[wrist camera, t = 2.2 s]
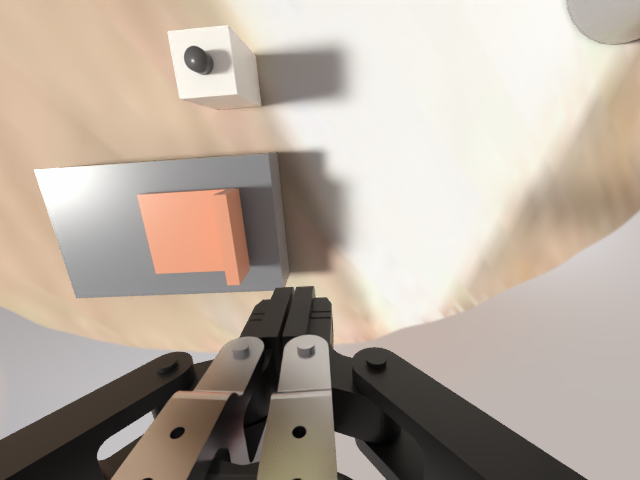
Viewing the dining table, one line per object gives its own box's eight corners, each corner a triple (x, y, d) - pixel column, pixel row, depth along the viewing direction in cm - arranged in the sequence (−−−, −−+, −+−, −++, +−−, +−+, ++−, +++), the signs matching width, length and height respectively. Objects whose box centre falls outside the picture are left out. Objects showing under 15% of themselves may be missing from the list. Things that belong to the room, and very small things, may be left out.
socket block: (277, 152, 29) (268, 153, 25) (289, 272, 32) (283, 290, 28) (72, 166, 30) (33, 169, 26) (106, 280, 33) (76, 298, 30)
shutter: (240, 187, 25) (225, 194, 22) (252, 267, 27) (240, 284, 24) (141, 193, 26) (111, 201, 22) (159, 271, 28) (134, 289, 25)
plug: (255, 55, 26) (221, 17, 18) (261, 106, 27) (231, 91, 20) (209, 59, 27) (156, 24, 19) (217, 109, 28) (170, 96, 20)
